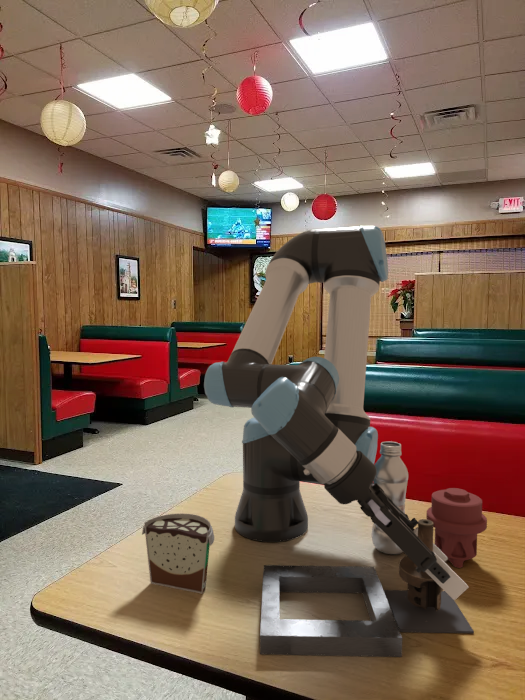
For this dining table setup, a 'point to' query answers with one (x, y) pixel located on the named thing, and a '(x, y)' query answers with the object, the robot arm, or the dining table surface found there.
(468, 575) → the dining table surface
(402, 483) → the plastic bottle
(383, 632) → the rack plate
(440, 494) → the mechanical component
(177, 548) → the food container
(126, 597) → the dining table surface
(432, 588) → the industrial component
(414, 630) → the rubber mat
